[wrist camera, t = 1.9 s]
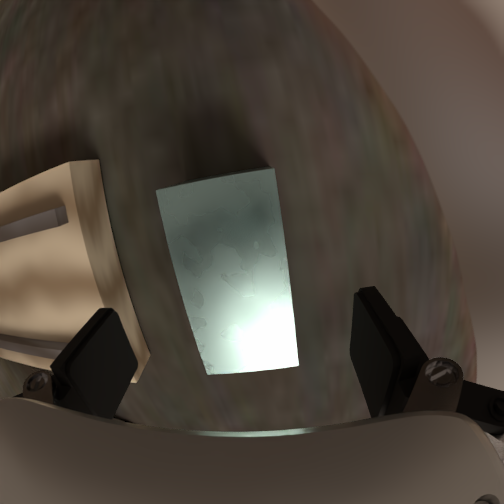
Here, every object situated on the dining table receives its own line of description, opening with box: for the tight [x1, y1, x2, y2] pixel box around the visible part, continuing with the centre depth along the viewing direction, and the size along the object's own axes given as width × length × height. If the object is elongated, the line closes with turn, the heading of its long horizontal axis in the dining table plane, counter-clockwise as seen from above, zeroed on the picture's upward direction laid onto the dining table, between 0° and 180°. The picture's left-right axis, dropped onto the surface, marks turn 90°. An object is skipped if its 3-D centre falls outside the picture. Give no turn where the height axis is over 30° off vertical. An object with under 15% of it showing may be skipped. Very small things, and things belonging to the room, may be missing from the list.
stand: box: [0, 159, 150, 383], centre depth 19 cm, size 18×24×5 cm
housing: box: [156, 166, 298, 375], centre depth 18 cm, size 12×6×6 cm, turn 9°
